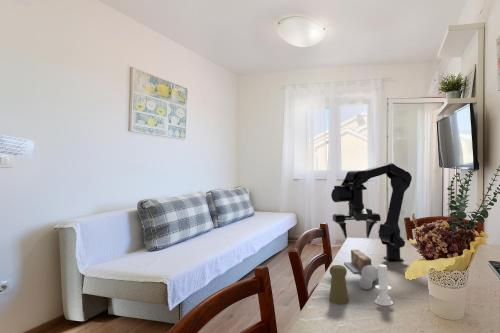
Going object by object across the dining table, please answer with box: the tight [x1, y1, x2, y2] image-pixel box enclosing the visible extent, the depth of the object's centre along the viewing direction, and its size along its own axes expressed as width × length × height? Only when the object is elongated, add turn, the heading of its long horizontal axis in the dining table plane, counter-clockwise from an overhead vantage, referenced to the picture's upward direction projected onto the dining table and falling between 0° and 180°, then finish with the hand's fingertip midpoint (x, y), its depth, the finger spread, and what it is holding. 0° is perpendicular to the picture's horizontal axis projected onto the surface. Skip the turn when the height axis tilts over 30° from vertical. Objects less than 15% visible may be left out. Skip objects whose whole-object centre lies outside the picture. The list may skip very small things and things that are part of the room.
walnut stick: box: [350, 249, 372, 271], centre depth 149 cm, size 16×3×5 cm, turn 1°
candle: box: [374, 263, 394, 307], centre depth 112 cm, size 5×5×12 cm
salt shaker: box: [358, 264, 379, 291], centre depth 128 cm, size 6×6×13 cm
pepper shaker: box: [328, 264, 350, 305], centre depth 114 cm, size 6×6×11 cm
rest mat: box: [343, 261, 378, 274], centre depth 149 cm, size 14×10×1 cm
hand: (356, 238), depth 153 cm, fingers open, 9 cm apart
